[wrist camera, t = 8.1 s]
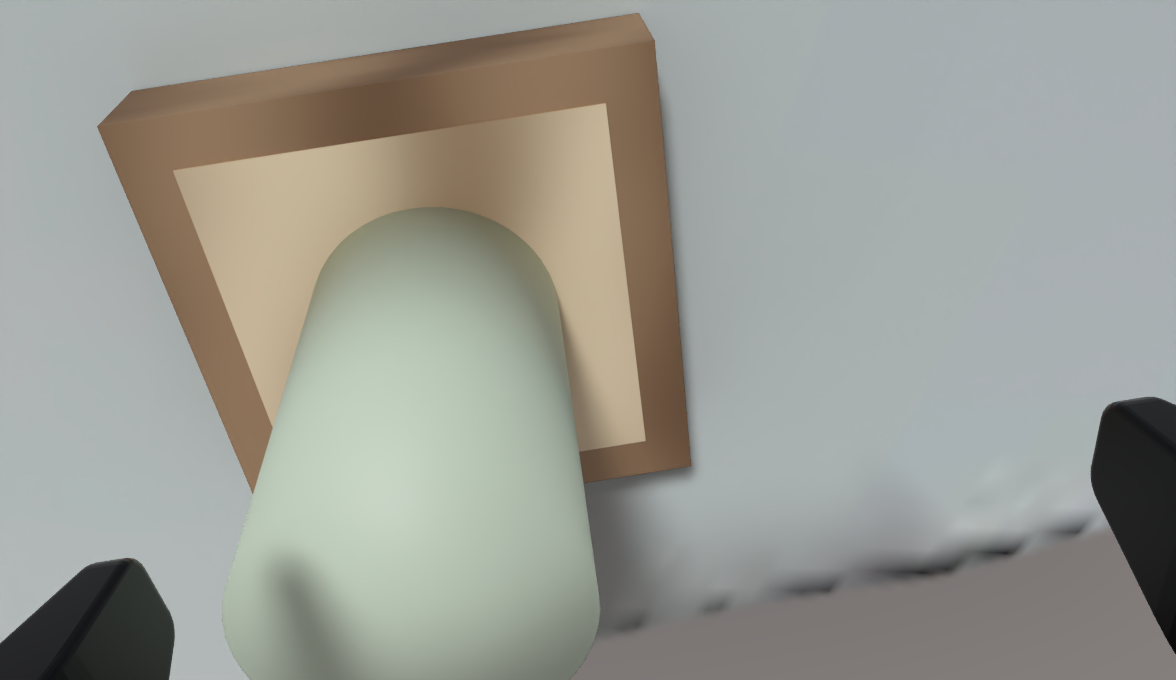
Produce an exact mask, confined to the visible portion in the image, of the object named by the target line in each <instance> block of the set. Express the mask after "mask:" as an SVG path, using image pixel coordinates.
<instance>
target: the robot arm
mask: <svg viewBox="0 0 1176 680" xmlns="http://www.w3.org/2000/svg"><path fill="white" fill-rule="evenodd" d="M1091 483H1092V487H1093V491H1094V494H1095V496H1096V498H1097V500H1098V503H1099V505H1100V507H1101V509H1102V511H1103V513H1104V515H1105V517H1106V519H1107V521H1108V523H1109V525H1110V527H1111V529H1112V531H1113V533H1114V535H1115V537H1116V539H1117V541H1118V543H1119V545H1120V547H1121V549H1122V551H1123V553H1124V555H1125V557H1126V559H1127V561H1128V564H1129V566H1130V568H1131V570H1132V571H1133V574H1134V576H1135V578H1136V580H1137V582H1138V584H1139V586H1140V588H1141V590H1142V592H1143V594H1144V596H1145V598H1146V600H1147V602H1148V604H1149V606H1150V608H1151V610H1152V612H1153V614H1154V616H1155V618H1156V620H1157V622H1158V624H1159V626H1160V627H1161V630H1162V631H1163V633H1164V635H1165V637H1166V639H1167V641H1168V642H1169V644H1170V646H1171V647H1172V649H1173V651H1174V652H1175V654H1176V405H1174V404H1172V403H1170V402H1168V401H1165V400H1163V399H1160V398H1157V397H1143V398H1136V399H1130V400H1124V401H1117V402H1114V403H1111V404H1109V405H1108V406H1107V407H1106V408H1105V410H1104V411H1103V414H1102V417H1101V421H1100V426H1099V431H1098V436H1097V441H1096V445H1095V450H1094V455H1093V460H1092V465H1091ZM174 638H175V634H174V624H173V620H172V617H171V614H170V612H169V610H168V608H167V607H166V605H165V603H164V601H163V600H162V598H161V596H160V594H159V593H158V591H157V589H156V587H155V585H154V584H153V582H152V580H151V578H150V577H149V575H148V573H147V571H146V570H145V568H144V567H143V565H142V564H141V563H140V562H139V561H137V560H135V559H132V558H123V559H117V560H110V561H104V562H98V563H94V564H91V565H89V566H87V567H85V568H84V569H83V570H81V571H80V572H79V573H78V574H77V575H76V576H75V577H73V578H72V579H71V580H70V581H69V582H68V583H67V584H66V585H65V586H63V587H62V588H61V589H60V590H59V591H58V592H57V593H56V594H55V595H53V596H52V597H51V598H50V599H49V600H48V601H47V602H46V603H45V604H44V605H42V606H41V607H40V608H39V609H38V610H37V611H36V612H35V613H34V614H32V615H31V616H30V617H29V618H28V619H27V620H26V621H25V622H24V623H22V624H21V625H20V626H19V627H18V628H17V629H16V630H15V631H14V632H12V633H11V634H10V635H9V636H8V637H7V638H6V639H5V640H4V641H2V642H1V643H0V680H169V675H170V668H171V661H172V654H173V647H174Z"/></svg>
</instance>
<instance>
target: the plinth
mask: <svg viewBox="0 0 1176 680" xmlns="http://www.w3.org/2000/svg"><path fill="white" fill-rule="evenodd" d="M97 127H98V130H99V132H100V134H101V137H102V139H103V141H104V144H105V146H106V148H107V151H108V153H109V156H110V158H111V160H112V163H113V165H114V167H115V170H116V172H117V174H118V177H119V179H120V182H121V184H122V186H123V189H124V191H125V193H126V196H127V198H128V200H129V203H130V205H131V208H132V210H133V212H134V215H135V217H136V219H137V222H138V224H139V226H140V229H141V231H142V233H143V236H144V238H145V241H146V243H147V245H148V248H149V250H150V252H151V255H152V257H153V259H154V262H155V264H156V267H157V269H158V271H159V274H160V276H161V278H162V281H163V283H164V285H165V288H166V290H167V292H168V295H169V297H170V300H171V302H172V304H173V307H174V309H175V311H176V314H177V316H178V318H179V321H180V323H181V326H182V328H183V330H184V333H185V335H186V337H187V340H188V342H189V344H190V347H191V349H192V351H193V354H194V356H195V359H196V361H197V363H198V366H199V368H200V370H201V373H202V375H203V377H204V380H205V382H206V385H207V387H208V389H209V392H210V394H211V396H212V399H213V401H214V403H215V406H216V408H217V410H218V413H219V415H220V418H221V420H222V422H223V425H224V427H225V429H226V432H227V434H228V436H229V439H230V441H231V444H232V446H233V448H234V451H235V453H236V455H237V458H238V460H239V462H240V465H241V467H242V469H243V472H244V474H245V477H246V479H247V481H248V484H249V486H250V488H251V491H252V493H254V489H255V486H256V483H257V479H258V476H259V473H260V469H261V466H262V463H263V459H264V456H265V452H266V449H267V446H268V442H269V439H270V436H271V432H272V429H273V426H274V422H275V419H276V415H277V412H278V409H279V405H280V402H281V399H282V395H283V392H284V389H285V385H286V382H287V378H288V375H289V372H290V368H291V365H292V362H293V358H294V355H295V352H296V348H297V345H298V341H299V338H300V335H301V331H302V328H303V325H304V321H305V318H306V315H307V311H308V308H309V304H310V301H311V298H312V294H313V291H314V288H315V284H316V281H317V279H318V276H319V274H320V271H321V269H322V267H323V266H324V264H325V262H326V260H327V259H328V257H329V256H330V254H331V253H332V252H333V251H334V250H335V248H336V247H337V246H338V245H339V244H340V243H341V242H342V241H343V240H344V239H345V238H346V237H347V236H348V235H350V234H351V233H352V232H354V231H355V230H357V229H358V228H360V227H361V226H363V225H364V224H366V223H368V222H370V221H372V220H374V219H376V218H378V217H381V216H384V215H387V214H390V213H392V212H396V211H401V210H406V209H410V208H421V207H446V208H453V209H460V210H464V211H468V212H472V213H475V214H479V215H481V216H484V217H486V218H489V219H491V220H494V221H495V222H497V223H499V224H501V225H503V226H504V227H506V228H508V229H509V230H511V231H512V232H514V233H515V234H516V235H518V236H519V237H520V238H522V239H523V240H524V241H525V242H526V243H527V244H528V245H529V246H530V247H531V248H532V249H533V250H534V252H535V253H536V254H537V255H538V257H539V258H540V259H541V260H542V262H543V264H544V265H545V267H546V269H547V271H548V272H549V274H550V277H551V279H552V282H553V284H554V287H555V291H556V295H557V299H558V305H559V313H560V320H561V327H562V334H563V341H564V348H565V355H566V363H567V370H568V377H569V384H570V391H571V398H572V405H573V412H574V420H575V427H576V434H577V441H578V448H579V455H580V462H581V470H582V477H583V483H588V482H594V481H600V480H606V479H613V478H619V477H625V476H631V475H637V474H644V473H650V472H656V471H662V470H669V469H675V468H681V467H687V466H691V458H690V446H689V435H688V423H687V411H686V400H685V388H684V376H683V365H682V353H681V342H680V330H679V318H678V307H677V295H676V283H675V272H674V260H673V249H672V237H671V225H670V214H669V202H668V190H667V179H666V167H665V156H664V144H663V132H662V121H661V109H660V97H659V86H658V74H657V63H656V51H655V40H654V39H653V37H652V35H651V33H650V32H649V30H648V28H647V26H646V25H645V23H644V21H643V20H642V18H641V16H640V14H639V13H636V14H629V15H623V16H616V17H610V18H603V19H597V20H590V21H584V22H577V23H571V24H564V25H558V26H551V27H545V28H538V29H532V30H525V31H519V32H512V33H506V34H499V35H493V36H486V37H480V38H473V39H467V40H460V41H454V42H447V43H441V44H434V45H428V46H421V47H415V48H408V49H402V50H395V51H389V52H382V53H376V54H369V55H363V56H356V57H350V58H343V59H337V60H330V61H324V62H317V63H311V64H304V65H298V66H291V67H285V68H278V69H272V70H265V71H259V72H252V73H246V74H239V75H233V76H226V77H220V78H213V79H207V80H200V81H194V82H187V83H181V84H174V85H168V86H161V87H155V88H148V89H142V90H135V91H131V92H130V93H129V94H128V95H127V96H126V97H125V99H124V100H123V101H122V102H121V103H120V104H119V105H118V106H117V107H116V108H115V109H114V110H113V111H112V112H111V113H110V114H109V115H108V116H107V117H106V118H105V119H104V120H103V121H102V122H101V123H100V124H99V125H98V126H97Z"/></svg>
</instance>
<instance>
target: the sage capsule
mask: <svg viewBox="0 0 1176 680" xmlns="http://www.w3.org/2000/svg"><path fill="white" fill-rule="evenodd" d="M599 617H600V601H599V591H598V584H597V577H596V569H595V562H594V555H593V548H592V541H591V534H590V527H589V519H588V512H587V505H586V498H585V491H584V484H583V477H582V470H581V462H580V455H579V448H578V441H577V434H576V427H575V420H574V412H573V405H572V398H571V391H570V384H569V377H568V370H567V363H566V355H565V348H564V341H563V334H562V327H561V320H560V313H559V305H558V299H557V295H556V291H555V287H554V284H553V282H552V279H551V277H550V274H549V272H548V271H547V269H546V267H545V265H544V264H543V262H542V260H541V259H540V258H539V257H538V255H537V254H536V253H535V252H534V250H533V249H532V248H531V247H530V246H529V245H528V244H527V243H526V242H525V241H524V240H523V239H522V238H520V237H519V236H518V235H516V234H515V233H514V232H512V231H511V230H509V229H508V228H506V227H504V226H503V225H501V224H499V223H497V222H495V221H494V220H491V219H489V218H486V217H484V216H481V215H479V214H475V213H472V212H468V211H464V210H460V209H453V208H446V207H421V208H410V209H406V210H401V211H396V212H392V213H390V214H387V215H384V216H381V217H378V218H376V219H374V220H372V221H370V222H368V223H366V224H364V225H363V226H361V227H360V228H358V229H357V230H355V231H354V232H352V233H351V234H350V235H348V236H347V237H346V238H345V239H344V240H343V241H342V242H341V243H340V244H339V245H338V246H337V247H336V248H335V250H334V251H333V252H332V253H331V254H330V256H329V257H328V259H327V260H326V262H325V264H324V266H323V267H322V269H321V271H320V274H319V276H318V279H317V281H316V284H315V288H314V291H313V294H312V298H311V301H310V304H309V308H308V311H307V315H306V318H305V321H304V325H303V328H302V331H301V335H300V338H299V341H298V345H297V348H296V352H295V355H294V358H293V362H292V365H291V368H290V372H289V375H288V378H287V382H286V385H285V389H284V392H283V395H282V399H281V402H280V405H279V409H278V412H277V415H276V419H275V422H274V426H273V429H272V432H271V436H270V439H269V442H268V446H267V449H266V452H265V456H264V459H263V463H262V466H261V469H260V473H259V476H258V479H257V483H256V486H255V489H254V493H253V496H252V500H251V503H250V506H249V510H248V513H247V516H246V520H245V523H244V526H243V530H242V533H241V536H240V540H239V543H238V547H237V550H236V553H235V557H234V560H233V563H232V567H231V570H230V573H229V577H228V580H227V584H226V588H225V592H224V597H223V602H222V622H223V627H224V633H225V638H226V640H227V643H228V645H229V648H230V650H231V653H232V655H233V656H234V658H235V660H236V661H237V663H238V665H239V666H240V668H241V669H242V671H243V672H244V673H245V674H246V675H247V677H248V678H249V679H250V680H569V679H570V678H571V677H572V676H573V675H574V674H575V673H576V672H577V670H578V669H579V668H580V666H581V665H582V663H583V662H584V661H585V659H586V657H587V655H588V653H589V651H590V649H591V647H592V645H593V643H594V640H595V637H596V634H597V630H598V626H599Z"/></svg>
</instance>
